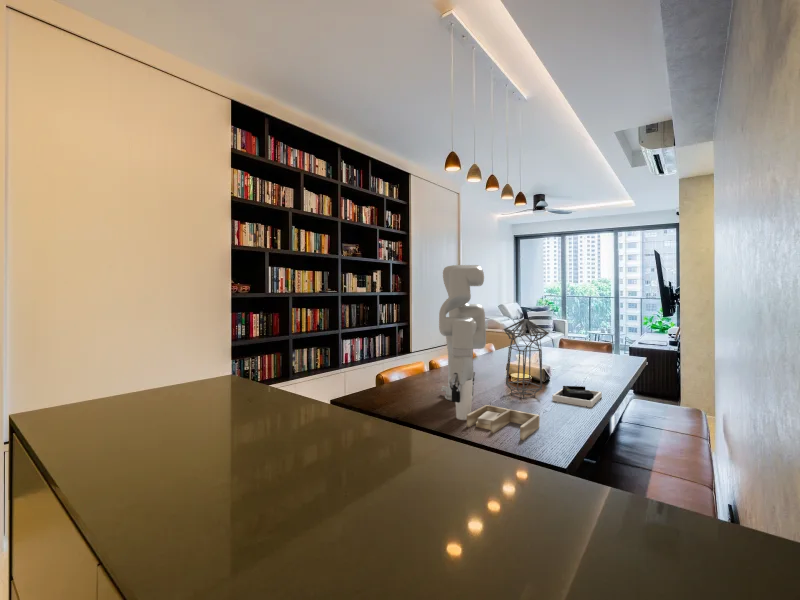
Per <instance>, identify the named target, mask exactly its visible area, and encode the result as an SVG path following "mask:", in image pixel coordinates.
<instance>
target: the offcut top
mask: <svg viewBox="0 0 800 600" xmlns="http://www.w3.org/2000/svg"><path fill="white" fill-rule="evenodd" d="M498 415H500V413H496V412H490V411H486V412H485V413H484V414H482V415H481V416H480V417H478V423H482V424H488V425H491V420H492V419H494V418H495V417H497V416H498Z"/></svg>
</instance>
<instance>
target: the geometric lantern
mask: <svg viewBox="0 0 800 600" xmlns="http://www.w3.org/2000/svg"><path fill="white" fill-rule="evenodd" d="M513 327H514V328H513ZM520 327H521V328H520ZM511 328H512V329H511ZM540 330H541V331H540ZM503 331H504V333H505V334H506V335H507V336H508V339H509V340H510V346H508V347H507V348H508V353H507V354H508V355H507V364H506V365H507V366H506V374H505V375H506V377H505V378H506V379H505V385H506V386H507V388H509V389H510V395H511V396H513V397H516V398H519V399H521V400H522V399H529V398H530V399H531V398H536V394H537V393H538V392H539V391H541V390H543V354H542V353H543V351H542V350H543V349H542V342H541V340H542V339H543V338H544V337H545V338H546V336H547V335H549V334H550V332H548V331H547V330H546V329H543V328H542V327H540V326H539V325H537V324H536V323H534V322H532V321H531V320H530V319H526V318H525V319H524V318H523V319H521V320H519V321H517V322H516V323H513V324H511V325H509V326H508V327H506V328H504V329H502V332H503ZM517 331H519V332H517ZM527 331H528V333H526V332H527ZM522 336H525V337H526V338H527V339H528V340H529V342H528V344H527V342H525V340H524V339H523V337H522ZM529 336H530V337H529ZM532 337H534V338H533V340H532ZM517 338H521V340H522V341H523V343H524V344H525V345H518V344H517V342H516V339H517ZM538 341H539V342H538ZM513 342H514V344H515V346H514V345H512V344H513ZM534 342H536V345H537V347H533V343H534ZM520 347H523V348H524V349H523V350H522V349H520ZM516 348H517V349H516ZM527 348H528V349H529V350H528V349H527ZM531 348H532V349H533V350H531ZM534 349H535V350H534ZM512 350H515V351H517V352H518V363H517V364H518V365H517V378H516V380H517V381H509V373H510V368H511V366H510V365H511V358H512ZM527 352H529V354H528V356H529V358H528V359H529V361H528V381H527V380H525V377H526V373H525V372H526V364H527ZM531 352H538V359H539V360H538V361H539V363H538V364H539V381H540V382H539V383H540V384H539V385H538V384H536V383H534V382H531ZM521 353H522V380H519V378H520V365H521V364H520V363H521ZM519 383H522V387H519ZM525 383H526V385H525ZM512 384H516V386H513V385H512ZM529 384H531V385H534V386H535V387H538V388H528V385H529ZM526 391H530V392H526ZM515 394H519V395H520V396H518V395H515ZM525 395H530V396H527V397H526V396H525ZM521 396H522V397H521Z"/></svg>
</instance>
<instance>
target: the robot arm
mask: <svg viewBox="0 0 800 600" xmlns="http://www.w3.org/2000/svg"><path fill="white" fill-rule="evenodd" d="M484 273H485V272H484V269H483V267H481V266H480V265H479V264H456V265H454V264H453V265H447V266H445V267H444V268H443V270H442V279H443V284H444V287H445V289H446V292H447V296H448V298H446V299H445V301H444V302H443V303H442V304H441V306H440V308H439V312H438V314H439V316H438V327H439V328H438V330H439V333H440V334H441V335H442V336H443V337H445V340H446V347H447V373H448V375H447V381H448V382H447V386H445V385H442V386H441V389H440V390H441V391H442V392H445V394H444V398H445V400H446V401H447V400H448V401H451V402H454V403H455V402H458V403H459V402H460V391H459V389H460V387H461V385H464V384H465V382H466V381H468V380H471V379H472V381H473V386H474V384H475V378H476V377H475V376H476V372H475V371H474V359H473V358H474V350H482V349H484V348H485V347H486V345H487V330H486V329H487V327H486V312H485V309H484V306H483V305H481V304H480V303H479V304H476V303H473V304H472V303H470V304H469V302H470V300H471V297H472V295H471V294H472V293H471V287H481V286H483V285H484V281H485V274H484ZM447 314H448V316H447ZM457 382H459V383H457ZM456 385H458V386H457V387H456ZM472 400H474V391H473V392H472Z"/></svg>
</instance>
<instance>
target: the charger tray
mask: <svg viewBox="0 0 800 600" xmlns="http://www.w3.org/2000/svg"><path fill="white" fill-rule="evenodd" d="M588 390H589V391H591V392H592V393H593V394H594V398H592V399H591V400H590V401H589V400H583V399H577V398H570V397H565V396H564V395H563V387H562V388H561V389H559V390H558V391H556V392H554V394H552V397H551V398H552V402H557V403H562V404H569V405H574V406H581V407H586V406H587V407H588V408H593V407H594V406H593V405H594V404H595V403H596V402H597V401H598V400H599V399H600V398H601V397H603V396H602V395H603V394H602V392H603V391H598V390H591V389H588ZM601 399H602V398H601ZM601 399H600V400H601ZM600 400H599V401H600ZM599 401H598V402H599ZM598 402H597V403H598ZM597 403H596V404H597ZM592 406H593V407H592ZM587 407H586V408H587Z"/></svg>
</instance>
